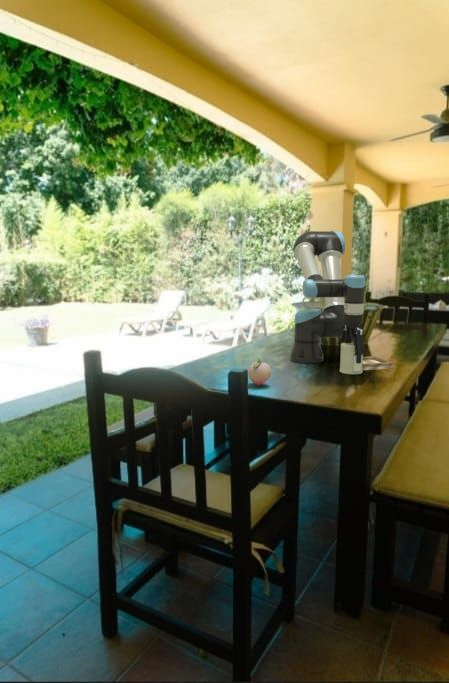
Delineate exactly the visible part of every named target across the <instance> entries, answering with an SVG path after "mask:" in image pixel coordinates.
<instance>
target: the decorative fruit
mask: <svg viewBox="0 0 449 683" xmlns="http://www.w3.org/2000/svg"><path fill="white" fill-rule="evenodd" d="M247 374H248V378H249V380H250V381H251V382H252V384H254V385H256V386H257V387H260V386H261V385H263V384H265V383H267V382H268V381H269V380H270V379H271V376H272V369H271V366H270V365H269V364H268V363H266V362H264V361H263V360H261V359H260V358H259V359H258V360H257V361H255V362H253V363H252V364H251V365H250V366H249V368H248V371H247Z"/></svg>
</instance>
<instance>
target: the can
mask: <svg viewBox="0 0 449 683" xmlns="http://www.w3.org/2000/svg"><path fill="white" fill-rule="evenodd" d="M340 343H341V342H340ZM354 354H355V346H354V344H353V341H351V343H341V348H340V358H339V359H340V361H339V372H340V373H342V374H346V375H361V374H363V373H364V372H363V371H364V370H362V366H363V357H364V355H362V356H361V371H353V370H354Z"/></svg>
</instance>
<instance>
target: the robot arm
mask: <svg viewBox="0 0 449 683" xmlns="http://www.w3.org/2000/svg"><path fill="white" fill-rule="evenodd" d="M292 250H293V254H294V256H295V258H296V259H297V260H298V262H299V266H300V269H301V272H302V274H303V278H304V280H303V282H302V294H303V296H304V297H305V298H312V299H313V298H324V301H325V307H323V309H320V308H309V309H302V310H299V311H296V313H295V315H294V321H293V322H294V332H293V334H294V336H293V345H292V349H291V352H290V353H289V360H290V361H291V362H294V363H297V364H319V363H322V362H324V352H323V351H322V348H321V338H324V339H325V338H330V339H331V338H332V339H333V338H340V343H339V348H340V349H341V343H351V342H353V344H354V346H355V354H354V370H353V371H361V356H362V355H363V356H364V355H365V354H366V351H365V350H366V348H365V347H366V346H365V329H362V328H361V324H363V323H364V315H363V314H364V311H365V310H364V309H365V308H364V306H365V289H366V288H365V286H366V278H365V276H364V275H363V274H361V275H360V274H348V275H346V276H345V278H342V273H341V272H342V270H341V264H340V263H341V262H340V260H341V259H342V257H343V255H344V254H345V252H346V241H345V236H344V235H343V233H342V232H340V231H334V230H330V231H327V230H324V231H322V230H321V231H320V230H319V231H317V230H315V231H313V230H309V231H306V232H303V233H302V234H300V235H299V236H298V237H297V238H296V240H295V241H294V244H293V249H292ZM316 257H317V259H316ZM318 262H319V263H320V265H321V269H320V267H319V266H320V265H319V264H318Z"/></svg>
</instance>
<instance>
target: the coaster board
mask: <svg viewBox="0 0 449 683" xmlns="http://www.w3.org/2000/svg"><path fill="white" fill-rule="evenodd" d="M388 369H389V370H390V369H391V370H393V369H394V362H391V361H390V360H389V361H388V360H387V359H384V358H381V357H377V356H375V355H374V356H363V366H362V371H372V370H388Z"/></svg>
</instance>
